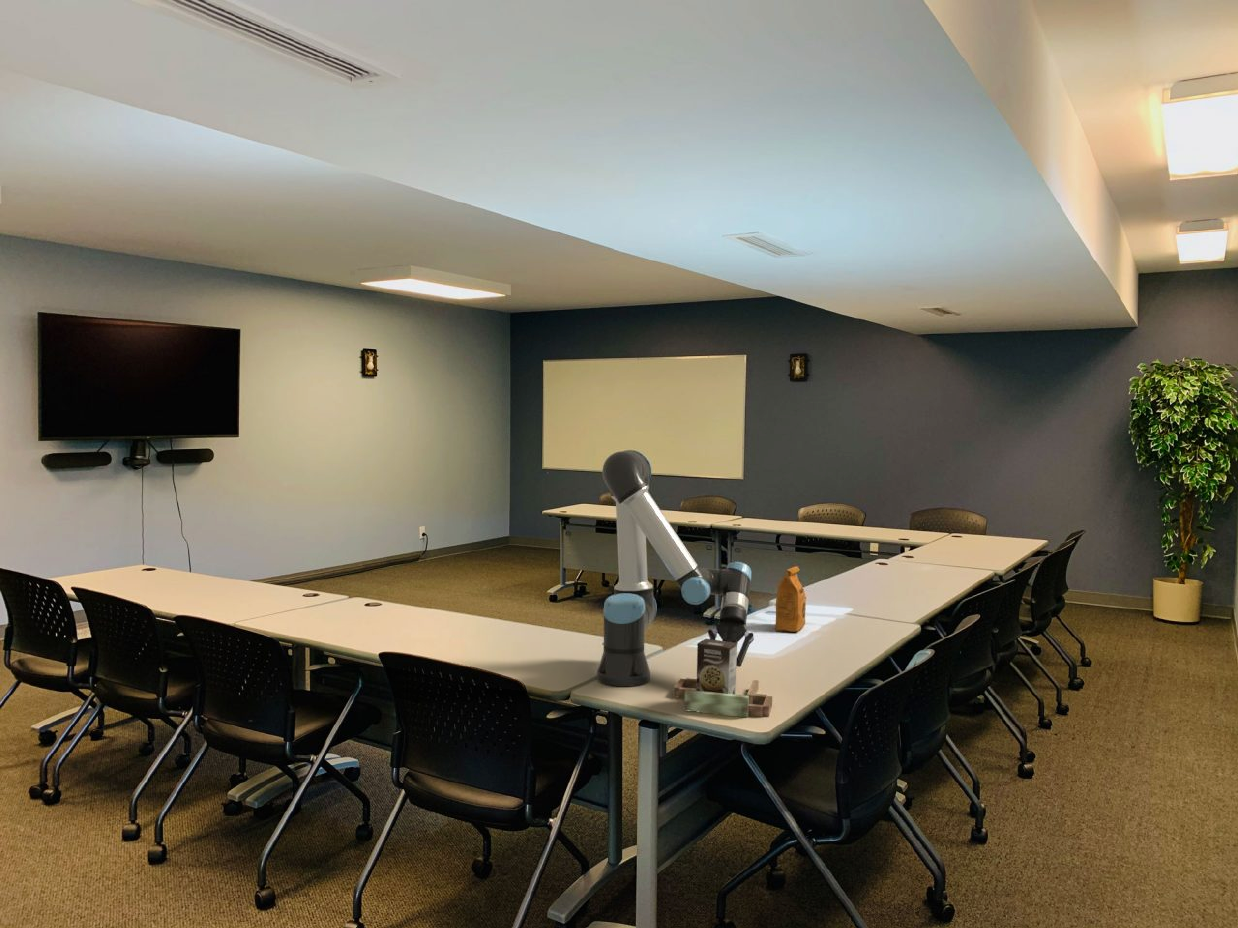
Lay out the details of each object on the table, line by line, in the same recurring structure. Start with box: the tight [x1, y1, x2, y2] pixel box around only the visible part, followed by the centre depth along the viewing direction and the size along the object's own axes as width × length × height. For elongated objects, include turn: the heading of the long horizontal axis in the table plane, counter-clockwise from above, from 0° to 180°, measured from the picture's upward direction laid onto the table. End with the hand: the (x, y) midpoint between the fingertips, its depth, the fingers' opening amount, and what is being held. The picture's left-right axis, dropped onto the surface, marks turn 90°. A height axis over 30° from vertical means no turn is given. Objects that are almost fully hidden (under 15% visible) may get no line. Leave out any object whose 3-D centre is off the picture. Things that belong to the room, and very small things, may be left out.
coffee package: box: [775, 565, 807, 633], centre depth 308 cm, size 10×12×22 cm
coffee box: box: [696, 638, 738, 695], centre depth 226 cm, size 9×6×16 cm
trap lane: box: [673, 677, 773, 718], centre depth 230 cm, size 26×24×5 cm
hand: (723, 687), depth 231 cm, fingers closed
